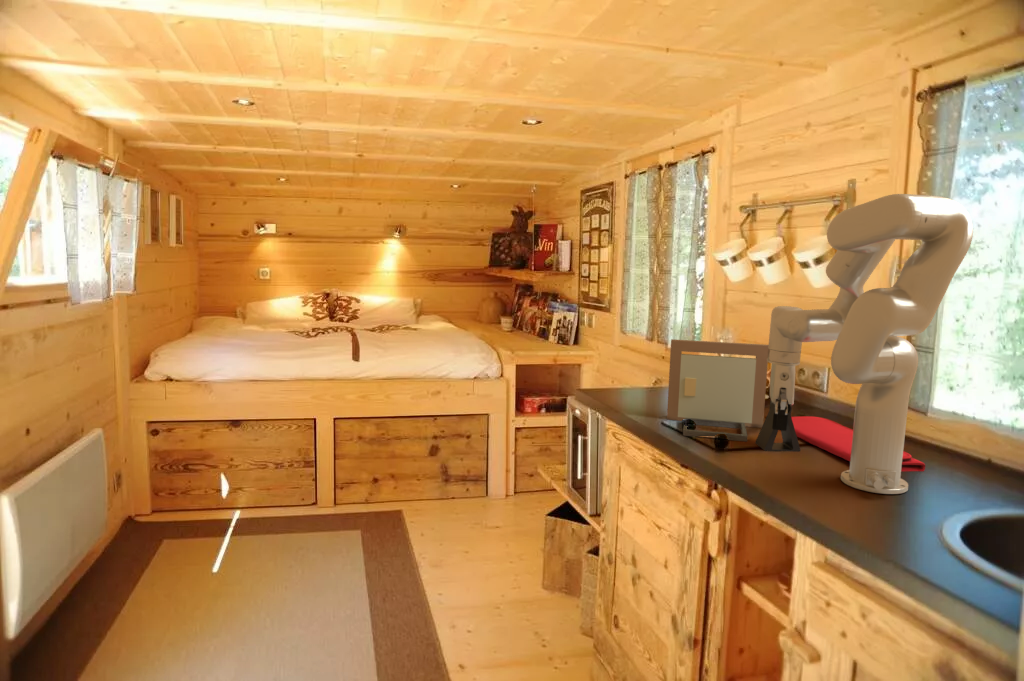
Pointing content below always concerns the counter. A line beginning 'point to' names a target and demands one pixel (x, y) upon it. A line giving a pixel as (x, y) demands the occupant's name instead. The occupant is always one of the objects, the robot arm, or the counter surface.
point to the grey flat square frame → (719, 424)
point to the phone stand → (769, 435)
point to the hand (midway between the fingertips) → (777, 424)
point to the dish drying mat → (838, 439)
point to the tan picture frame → (717, 382)
